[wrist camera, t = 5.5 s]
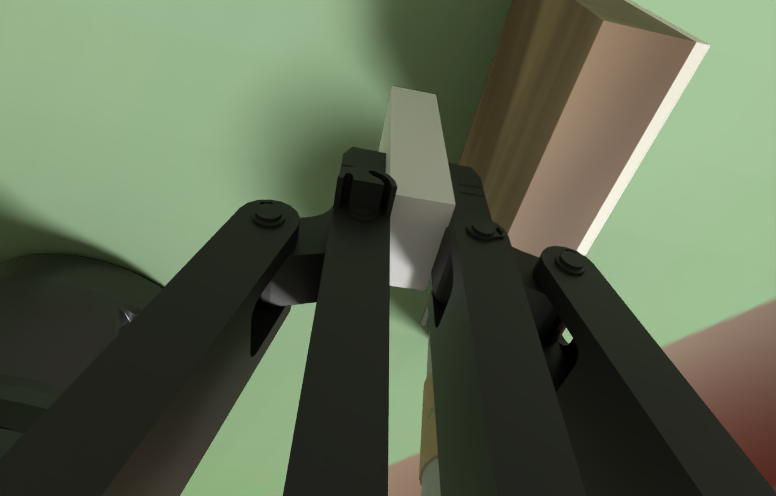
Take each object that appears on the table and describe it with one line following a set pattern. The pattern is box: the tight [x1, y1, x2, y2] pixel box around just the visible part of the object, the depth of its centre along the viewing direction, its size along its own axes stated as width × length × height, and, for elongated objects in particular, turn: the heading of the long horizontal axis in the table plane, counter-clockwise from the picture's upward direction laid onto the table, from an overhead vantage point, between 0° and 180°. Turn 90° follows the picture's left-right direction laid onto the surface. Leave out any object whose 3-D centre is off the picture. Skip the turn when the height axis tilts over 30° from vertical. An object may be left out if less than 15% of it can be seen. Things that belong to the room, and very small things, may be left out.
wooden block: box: [459, 0, 711, 257], centre depth 19 cm, size 3×10×9 cm, turn 169°
